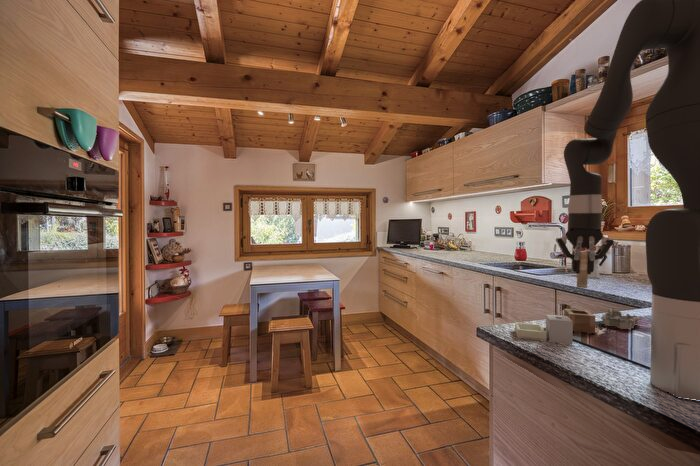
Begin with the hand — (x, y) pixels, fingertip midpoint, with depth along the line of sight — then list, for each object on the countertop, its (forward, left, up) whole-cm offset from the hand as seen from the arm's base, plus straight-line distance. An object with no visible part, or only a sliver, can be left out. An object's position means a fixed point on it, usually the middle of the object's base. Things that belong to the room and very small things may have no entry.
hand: (582, 273), depth 89 cm
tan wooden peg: (0, 0, -4) cm, 4 cm away
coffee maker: (+109, -33, -17) cm, 116 cm away
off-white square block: (-10, +7, -17) cm, 21 cm away
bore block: (+2, 0, -17) cm, 17 cm away
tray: (-9, +14, -17) cm, 23 cm away
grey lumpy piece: (+12, -13, -17) cm, 24 cm away
